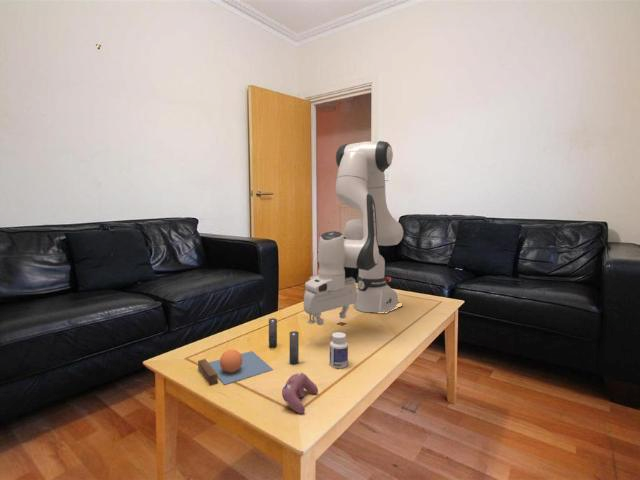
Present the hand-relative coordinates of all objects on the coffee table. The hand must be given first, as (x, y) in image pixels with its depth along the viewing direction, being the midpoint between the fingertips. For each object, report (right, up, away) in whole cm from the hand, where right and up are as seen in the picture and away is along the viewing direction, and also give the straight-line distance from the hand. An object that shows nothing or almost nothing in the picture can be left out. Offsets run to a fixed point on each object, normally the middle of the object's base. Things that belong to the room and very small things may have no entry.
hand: (331, 320), depth 116 cm
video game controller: (-9, -11, -35) cm, 37 cm away
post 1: (-19, -7, -5) cm, 21 cm away
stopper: (-34, -9, -24) cm, 42 cm away
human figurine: (-7, -5, +17) cm, 19 cm away
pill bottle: (+1, -9, -16) cm, 19 cm away
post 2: (-12, -8, -16) cm, 21 cm away
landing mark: (-27, -9, -19) cm, 34 cm away
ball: (-28, -6, -22) cm, 36 cm away
